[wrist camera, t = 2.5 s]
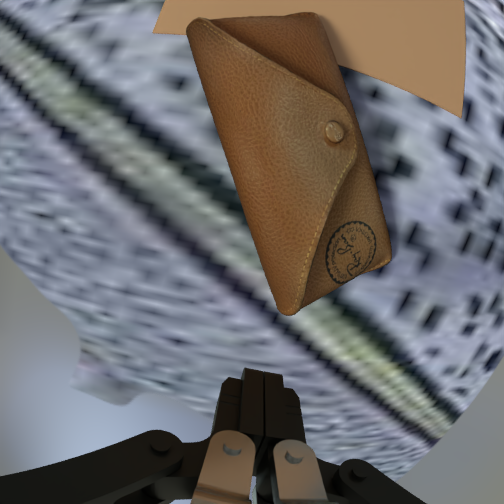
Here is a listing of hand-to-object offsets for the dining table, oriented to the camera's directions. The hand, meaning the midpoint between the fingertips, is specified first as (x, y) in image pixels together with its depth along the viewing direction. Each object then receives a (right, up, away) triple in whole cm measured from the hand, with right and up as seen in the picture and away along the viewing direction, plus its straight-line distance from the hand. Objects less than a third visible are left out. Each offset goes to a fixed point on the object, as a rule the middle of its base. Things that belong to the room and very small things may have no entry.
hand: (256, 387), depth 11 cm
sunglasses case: (+3, +12, +6) cm, 14 cm away
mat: (+5, +23, +3) cm, 24 cm away
